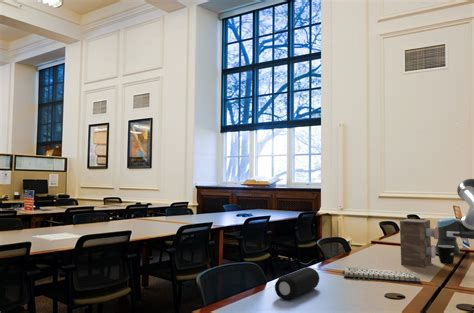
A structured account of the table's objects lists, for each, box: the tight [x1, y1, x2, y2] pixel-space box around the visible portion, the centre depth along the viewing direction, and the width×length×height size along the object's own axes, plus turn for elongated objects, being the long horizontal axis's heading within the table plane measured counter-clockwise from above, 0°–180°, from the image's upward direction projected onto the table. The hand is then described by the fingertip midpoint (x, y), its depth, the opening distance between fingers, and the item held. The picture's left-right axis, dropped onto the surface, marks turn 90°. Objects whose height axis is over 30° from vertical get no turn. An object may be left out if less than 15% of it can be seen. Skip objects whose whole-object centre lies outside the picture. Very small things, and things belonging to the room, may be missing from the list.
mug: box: [437, 245, 455, 265], centre depth 236 cm, size 12×9×10 cm
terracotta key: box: [426, 226, 439, 240], centre depth 229 cm, size 7×12×7 cm, turn 51°
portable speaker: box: [274, 267, 320, 301], centre depth 173 cm, size 26×10×10 cm, turn 141°
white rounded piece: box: [426, 244, 437, 259], centre depth 230 cm, size 7×12×7 cm, turn 51°
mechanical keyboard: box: [342, 266, 422, 285], centre depth 202 cm, size 38×19×3 cm, turn 73°
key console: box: [399, 218, 432, 269], centre depth 233 cm, size 16×13×26 cm
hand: (446, 233), depth 223 cm, fingers closed
